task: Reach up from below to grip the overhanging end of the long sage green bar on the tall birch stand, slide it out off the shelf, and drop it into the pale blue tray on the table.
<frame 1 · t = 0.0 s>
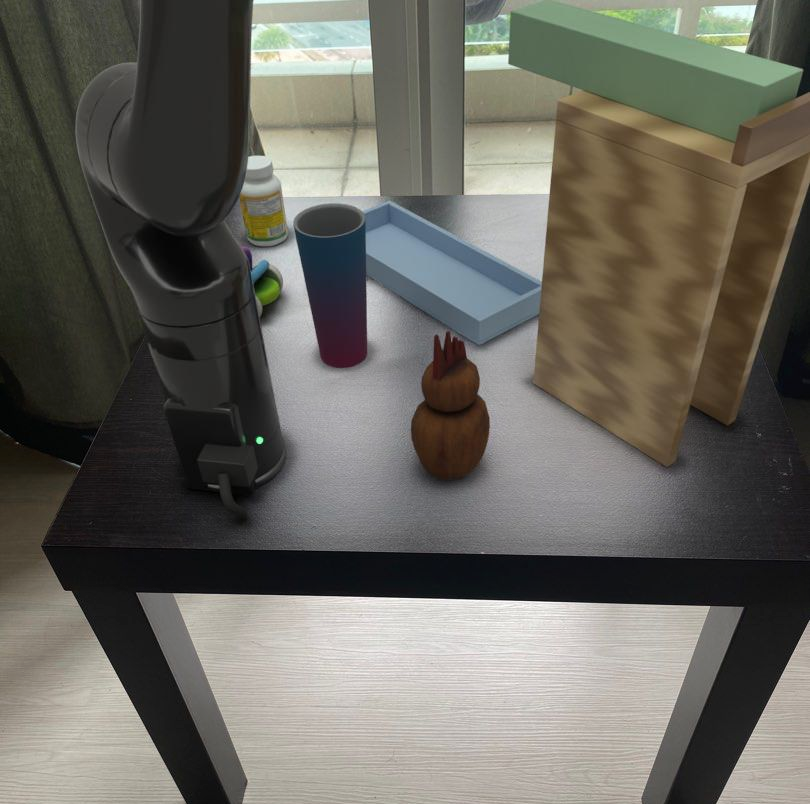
supplement bottle: (268, 238, 109), on the table
multicolored plastic toy: (243, 306, 98), on the table
stand: (630, 401, 83), on the table
wooden figurine: (450, 468, 77), on the table
tray: (430, 278, 100), on the table
long sage green bar: (635, 94, 66), point 27 cm above the table, touching stand
cup: (344, 355, 90), on the table
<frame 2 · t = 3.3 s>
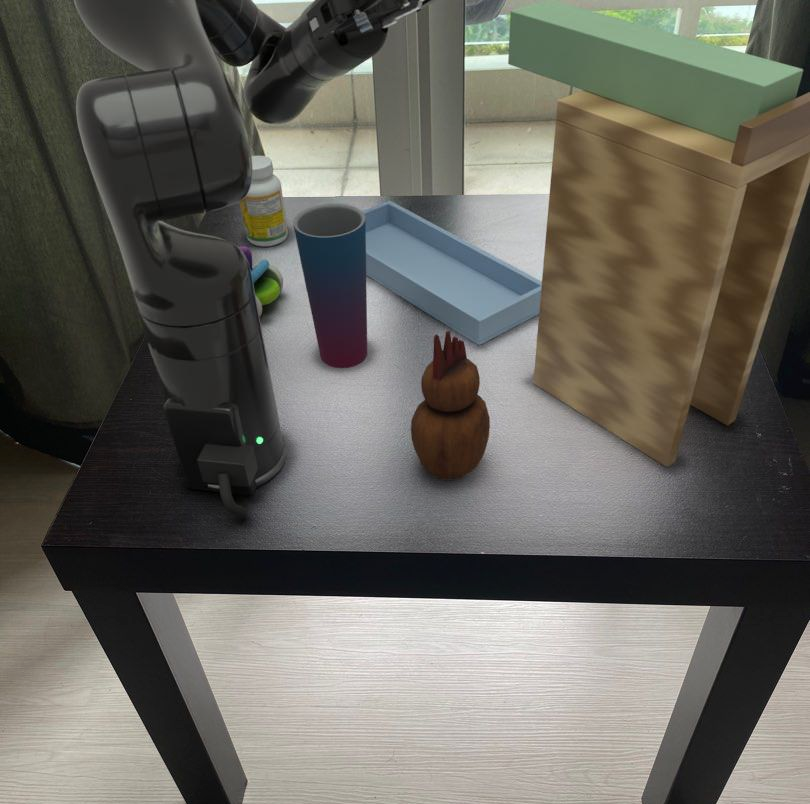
nothing on the table moved.
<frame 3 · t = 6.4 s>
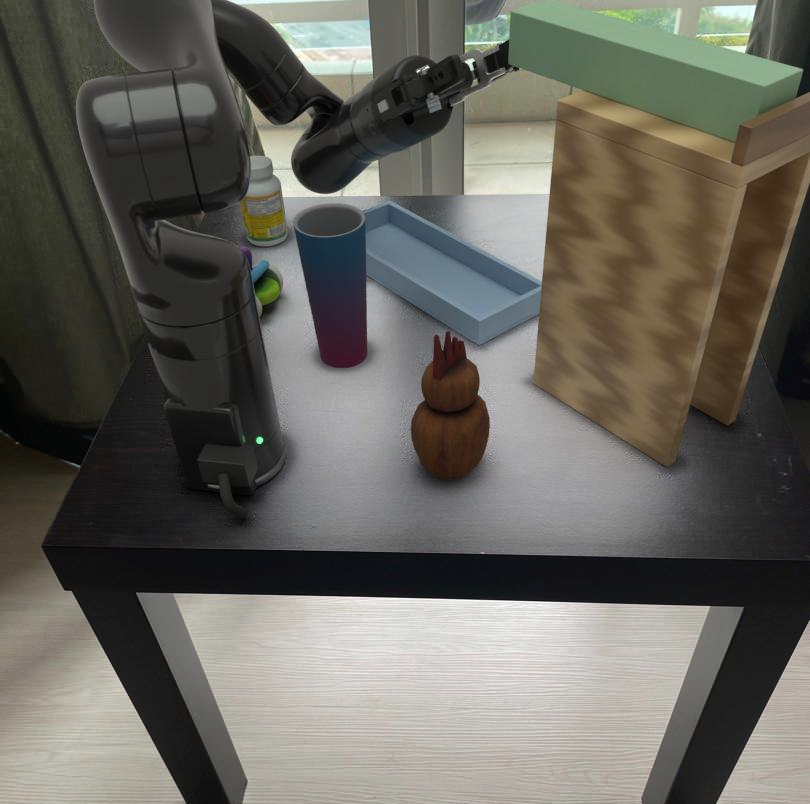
hand: (495, 54, 75), 26 cm above the table, tool pointing upward, fingers open, 8 cm apart
nothing on the table moved.
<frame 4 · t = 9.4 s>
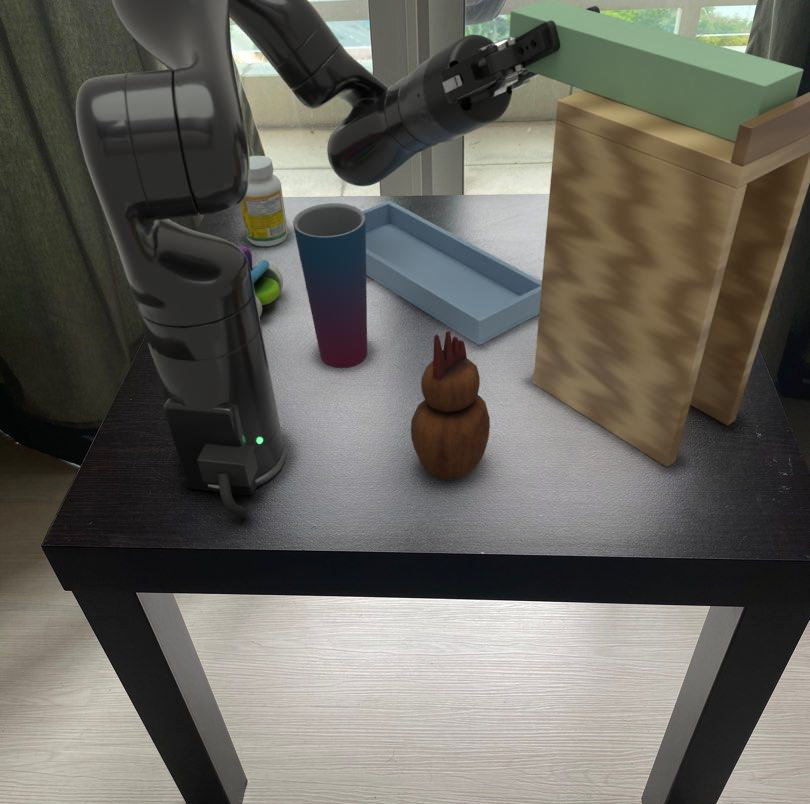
hand: (576, 27, 67), 30 cm above the table, tool pointing upward, fingers closed on long sage green bar, 4 cm apart
long sage green bar: (635, 94, 66), point 27 cm above the table, touching gripper, stand
everything else where it was.
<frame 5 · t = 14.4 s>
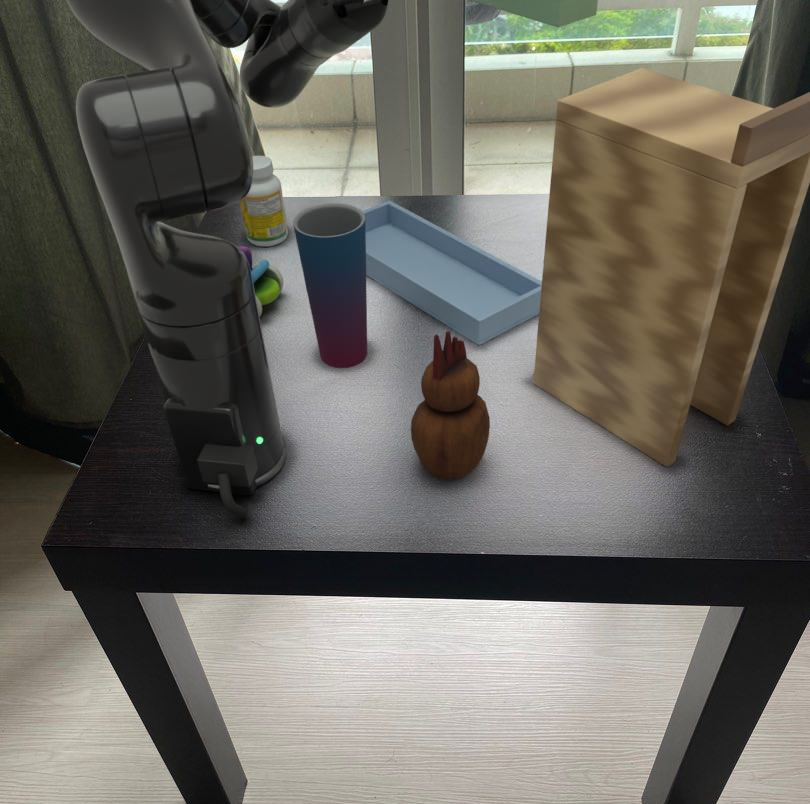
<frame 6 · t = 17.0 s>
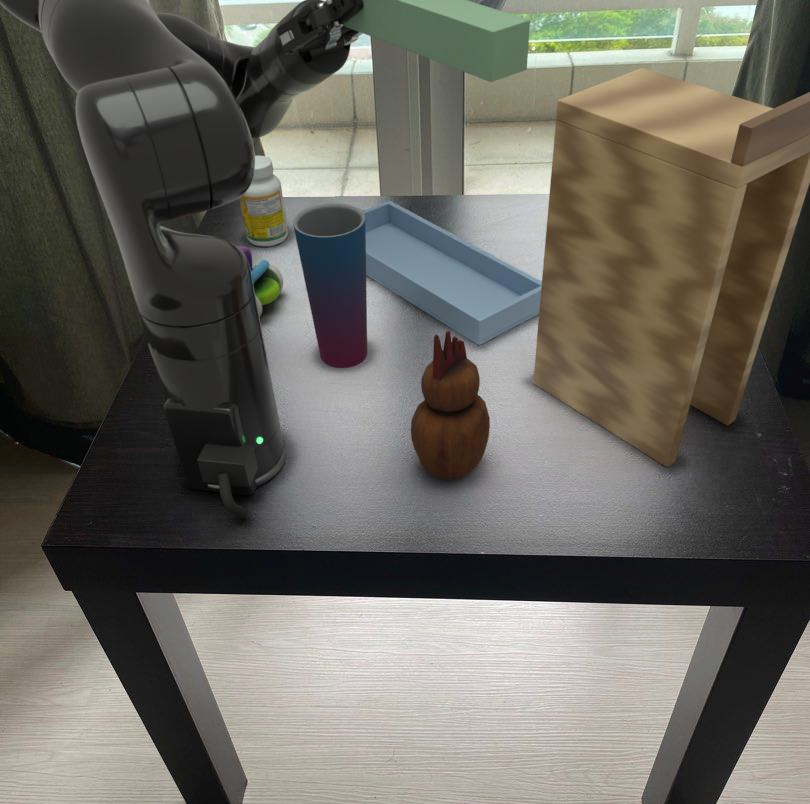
long sage green bar: (422, 44, 81), point 25 cm above the table, touching gripper
everything else where it was.
when the fingers open (22 cm above the table, at t = 19.3 s): long sage green bar drops 18 cm, resting on tray.
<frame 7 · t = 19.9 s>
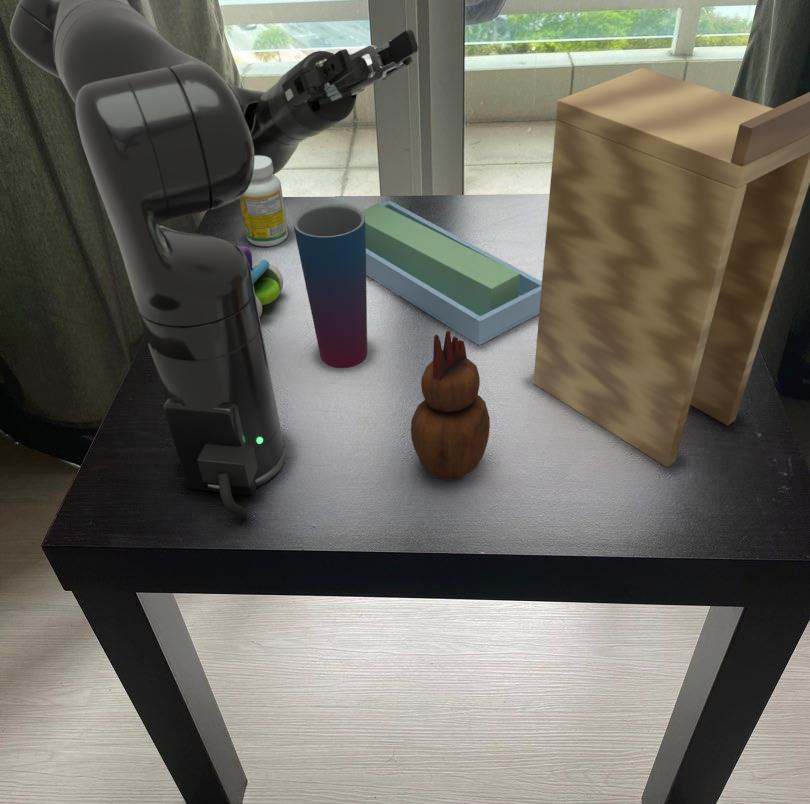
hand: (381, 49, 87), 23 cm above the table, tool pointing upward, fingers open, 8 cm apart
long sage green bar: (431, 274, 100), resting on tray
everything else where it was.
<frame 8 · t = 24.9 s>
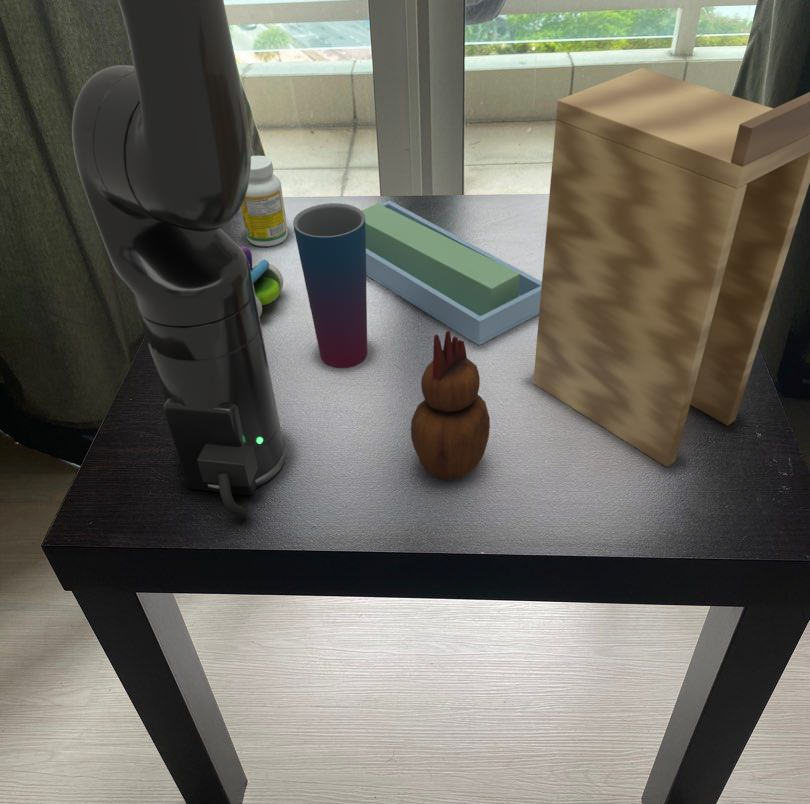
nothing on the table moved.
at the end: long sage green bar touching tray; long sage green bar inside the target area in the tray (0.1 cm from its centre), point 0.5 cm above the tray's base; long sage green bar moved 37.3 cm from its start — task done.
